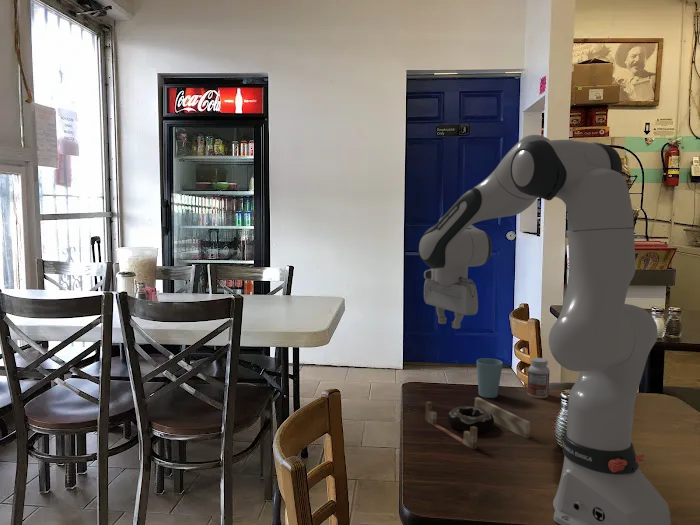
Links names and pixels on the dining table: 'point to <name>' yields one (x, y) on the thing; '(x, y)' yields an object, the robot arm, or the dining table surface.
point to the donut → (470, 419)
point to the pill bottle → (538, 378)
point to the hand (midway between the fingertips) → (448, 325)
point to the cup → (488, 376)
